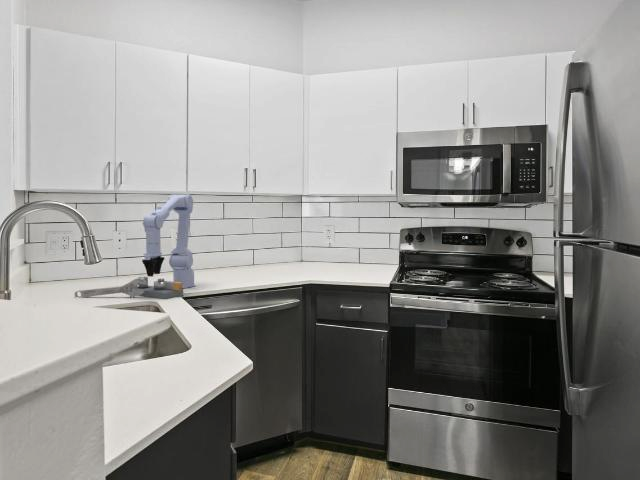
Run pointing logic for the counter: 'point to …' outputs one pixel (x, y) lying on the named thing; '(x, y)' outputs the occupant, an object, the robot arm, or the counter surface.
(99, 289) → the wrench
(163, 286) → the silver elongated block
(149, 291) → the pin board
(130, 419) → the counter surface
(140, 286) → the steel pin
